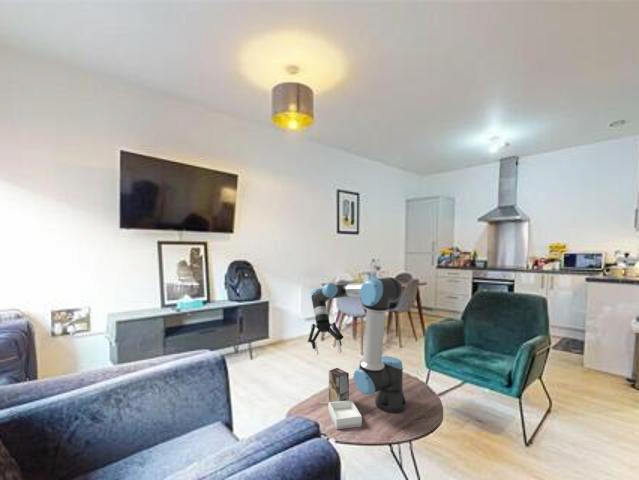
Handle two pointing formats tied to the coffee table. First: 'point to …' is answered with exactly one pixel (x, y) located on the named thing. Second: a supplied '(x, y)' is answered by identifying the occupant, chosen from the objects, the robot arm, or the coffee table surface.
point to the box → (345, 414)
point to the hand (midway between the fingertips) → (328, 353)
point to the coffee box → (338, 385)
